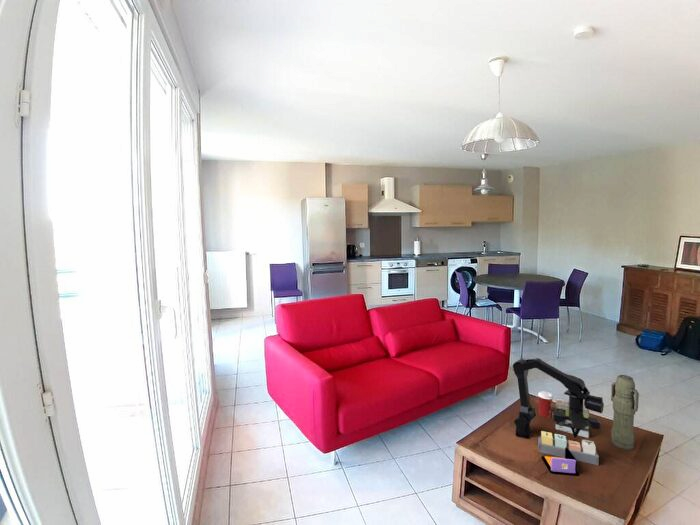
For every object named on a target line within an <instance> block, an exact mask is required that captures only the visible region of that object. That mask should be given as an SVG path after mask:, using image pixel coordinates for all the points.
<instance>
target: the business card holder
mask: <svg viewBox="0 0 700 525" xmlns="http://www.w3.org/2000/svg"><path fill="white" fill-rule="evenodd" d="M541 461H542V462H543V463H544V465H545V467H546V468H547V470H548V472H549V473H550V474H553V475H559V476H560V475H561V476H571V477H579V476H580V474H579V472H578V470H577V468H578V467H577V466H578V465H577V464H578V463H577V460H576V459H575V457H574V456H573V455H572V453H571V452H570V451H569V449H568V448H565V458H564V457H560V456H544V455H543V456H541Z"/></svg>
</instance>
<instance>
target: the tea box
mask: <svg viewBox="0 0 700 525" xmlns="http://www.w3.org/2000/svg"><path fill="white" fill-rule="evenodd" d="M555 411H557V412H562V415H564V416H569V399H564V398H560V397H556V398H555ZM583 416H584V417H585V418H588V417H590V410H588V409H587V408H585V406H584V402H583ZM555 430H557V431H561V432H565V433H569V434H572V435H573V432H572V429H571V427H570V426H569V425H567V423H566V420H563V422H561V423H560V422H555ZM577 436H578V437H579V436H580V437H583V438H587V439H589V438H590V426H589V427H588V426H587V427H586V428H584V429H581V430H580V431H579V433H578V435H577Z"/></svg>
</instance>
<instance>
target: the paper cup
mask: <svg viewBox="0 0 700 525" xmlns="http://www.w3.org/2000/svg"><path fill="white" fill-rule="evenodd" d="M537 396H538V414H539V416H541V417H543V418H548V419H549V418H551V417H552V409H553V408H552V406H553V399H554V396H553V393H551V392H548V391H543V390H542V391H539V392H538V394H537Z"/></svg>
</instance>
